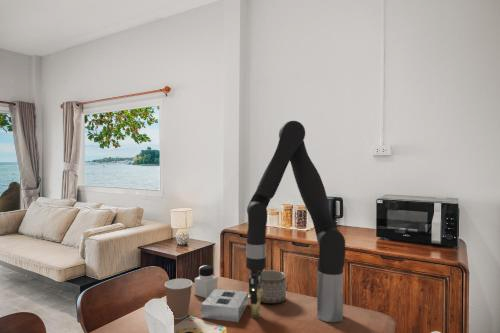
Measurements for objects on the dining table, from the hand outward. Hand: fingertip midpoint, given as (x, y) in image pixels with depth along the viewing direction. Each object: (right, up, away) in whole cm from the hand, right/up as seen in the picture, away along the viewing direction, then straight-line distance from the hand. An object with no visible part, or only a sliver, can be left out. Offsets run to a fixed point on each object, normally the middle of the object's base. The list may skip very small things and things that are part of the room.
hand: (255, 300), depth 129 cm
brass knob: (0, -6, 0) cm, 6 cm away
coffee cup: (-29, -6, 0) cm, 29 cm away
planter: (+6, -6, +16) cm, 18 cm away
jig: (-11, -6, +5) cm, 14 cm away
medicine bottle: (-21, -6, +21) cm, 30 cm away
